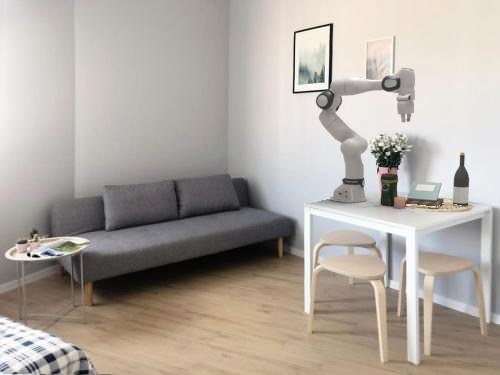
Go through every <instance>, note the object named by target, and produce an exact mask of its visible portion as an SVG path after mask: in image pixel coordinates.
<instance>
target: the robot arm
mask: <svg viewBox="0 0 500 375" xmlns="http://www.w3.org/2000/svg"><path fill="white" fill-rule="evenodd" d="M415 86H416V75H415V71H414V69H413V68H407V67H400V68H399V69H398V70H397V71H395V72H394V73H390V74H388V75H385V76H384V77H383V78H382V79H368V78H362V77H358V76H345V77H343V76H342V77H339V78H335V79H333V80H332V81H331V83H330V85H329V87H330V88H328V89H327V88H326V89H325V90H323V91H322V92H320V93H319V94H318V95H317V96H316V99H315V104H316V105H317V107H318V108H319V109H320V110H321V112H320V113H319V114H318V120H319V121H320V124H321V125H322V126H323V128H324V129H326V131H327V132H328V133H329V134H330V135H331V137H333V138H334V140H336V141H338V142H339V143H341V144H340V152H341V154H342V156H343V160H344V166H345V167H344V168H345V169H344V170H345V173H344V174H345V177H344V178H342V179H341V182H342V183H341V184H340V185H338V186H337V187H336V188H335V189H334V190H333V193H332V196H331V197H329V200H330V201H332V200H333V201H332V202H339V201H340V202H341V203H346V204H347V203H349V204H350V203H362V202H366V201H367V198H366V193H365V182H366V181H365V177H364V176H365V173H364V171H365V170H364V168H365V165H364V163H363V161H362V154H363V153H365V152H366V151H367V150H368V148H369V142H368V141H367V139H366V138H364V137H362V135H360V134H358V133H357V132H356V131H354V130H353V129H352V128H350V127H349V125H348V124H347V123H346V122H345V121H344V120H343V119H342V118H341V117H340V116H339V115H338V114H337V112H338V111H339V109H340V107H341V105H342V103H343V98H342V97H343V96H344V97H345V96H346V97H347V96H354V95H359V94H364V93H367V92H371V91H372V92H373V91H385V92H387V93H395V94H396V93H397V94H398V95H397V96H396V101H397V102H396V103H397V105H396V107H397V114H398V115H400V119H401V123H406V122H407V123H410V122H411V119H412V118H411V117H412V114H414V112H415V100H416V99H415V96H416V91H415ZM340 202H339V203H340Z"/></svg>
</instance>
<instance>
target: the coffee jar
mask: <svg viewBox="0 0 500 375" xmlns="http://www.w3.org/2000/svg"><path fill="white" fill-rule="evenodd" d="M398 182H399V176H398V174H396V173H391V172H387V173H386V172H385V173H382V174H381V175H380V183H381V184H380V185H381V191H380V205H383V206H388V207H389V206H393V207H394V197H399V196H398Z"/></svg>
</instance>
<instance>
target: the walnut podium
mask: <svg viewBox="0 0 500 375" xmlns="http://www.w3.org/2000/svg"><path fill="white" fill-rule="evenodd" d="M444 201H445V200H444V198H439V197H438V199H437V202H435V201H422V200H409V199H405V205H406V204H417V205H426V206H436V207H437V206H439V205H441V204H442V203H443V204H444ZM443 204H442V205H443ZM442 205H441V206H442Z"/></svg>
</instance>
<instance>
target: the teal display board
mask: <svg viewBox="0 0 500 375" xmlns="http://www.w3.org/2000/svg"><path fill="white" fill-rule="evenodd" d="M442 185H443V184H442V182H434V181H433V182H432V181H431V182H430V181H412V184H411V186H410V189H409V192H408V195H407V199H409V200H422V201H435V202H437V199H438V198H439V194H440V191H441V188H442ZM407 199H406V200H407Z"/></svg>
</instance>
